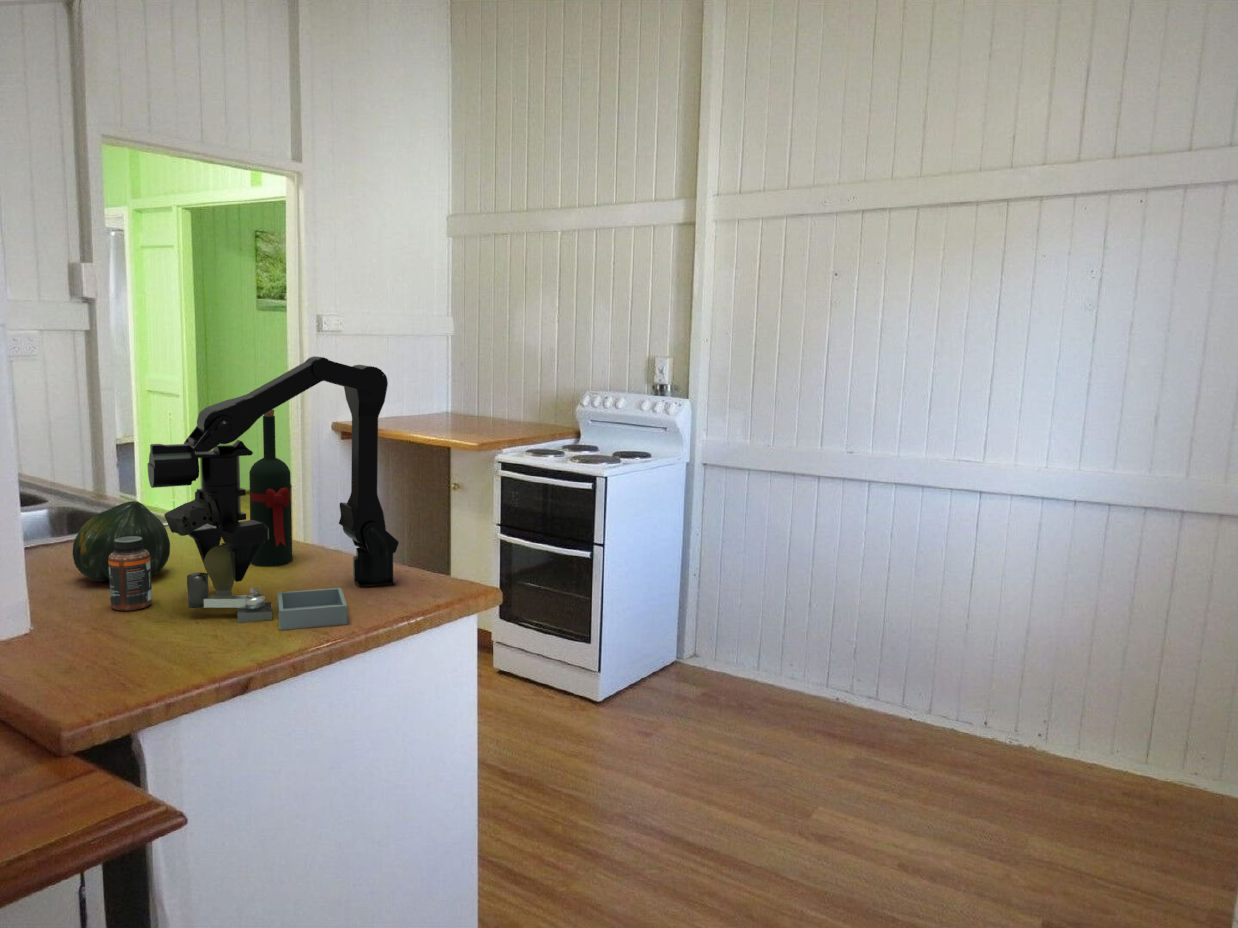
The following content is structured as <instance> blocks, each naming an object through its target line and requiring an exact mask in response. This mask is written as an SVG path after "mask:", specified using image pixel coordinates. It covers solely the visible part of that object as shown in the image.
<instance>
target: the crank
mask: <svg viewBox="0 0 1238 928" xmlns="http://www.w3.org/2000/svg"><path fill="white" fill-rule="evenodd" d="M186 583H187V585H186V586H187V587H186V588H187V607H188V608H189V609H203V608H204V609H205V608H218V609H219V608H224V609H225V608H230V609H231V608H237V609H238V607H246V608H260V607H263V606H264V605H265V602H266V600H265V598H266V597H265V595H264V594H259V593H258V594H253V595H251V594H237V595H236V594H232V595H216V594H212V595H211V594H209V575H208V574H207V572H193V573H189V574H187V575H186Z"/></svg>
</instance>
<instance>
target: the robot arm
mask: <svg viewBox="0 0 1238 928" xmlns="http://www.w3.org/2000/svg"><path fill="white" fill-rule="evenodd" d="M321 382H327V383H329V384H334V385H337V386H341V387H343V388H344V389H343V390H344V394H345V396H344V397H345V400H346V403H347V407H348V408H349V409H348V410H349V411H350V415H351V475H350V476H351V479H350V480H351V492H350V495H349V498H348V500H347V502H340V503H339V511H340V518H339V522H338V525H340V526H342V530H343V532H344V534H345V535H346V536H348V538H349V539H351V540H352V542H353V545H354V546H355V547H356V551H355V552H356V553H355V555H354V556H353V557H352V578H353V580H354V582H355V583H356V584H357V586H358V587H359V588H364V587H365V588H366V587H379V586H380V587H381V586H392V585H395V584H396V581H395V579H394V554H395V553H396V552H397V549H398V546H399V541H398V540H397V539H396V538H395V537H394V536H393V535H392V534H391V533H390V532H388V531H387V528H386V521H385V515H384V513H385V512H384V510H383V507H382V504H381V502H380V499H379V495H378V475H379V474H378V473H379V472H378V465H379V464H378V461H379V460H378V459H379V455H378V454H379V453H378V452H379V451H378V450H379V416H380V414H381V411H382V409H383V406H384V404H385V403H386V402H385V401H386V397H387V390H388V387H389V386H388V384H389V383H388V377H387V375H386V374H385V373H384V372H383V371H382V369H381V368H379V367H376V366H371V365H364V364H355V365H352V366H351V365H348V364H344V363H341V362H336V361H333V360H330V359H328V358H327V357H323V356H311V357H308V358H307V359H306V360H305V361H304V362H303V363H300V364H299V365H296V366H295V367H294V368H291V369H290V370H288V371H286V372H284V373H283V374H281V375H279V376H277V377H275V378H274V379H272V380H270V381H268V382H266V383H264V384H263V385H261V386H259V387H257V388H256V389H254V390H252V391H250V392H248V393H247V394H244V395H241V396H237V397H234V398H233V397H232V398H231V399H230V398H229V399H226V400H222V401H220V402H217V403H214V404H212V405H208V406H206V407H205V408H203V409H202V410H200V412H199V413H198V415H197V419H196V426H195V427H194V428H193V431H191V433H190V434H189V436H188V437H187V438H186V439H185V441H184V442H183V443H180V444H179V443H178V444H162V443H151V444H150V445H149V447H150V449H149V450H150V452H149V456H148V462H147V475H148V482H149V486H150V487H151V488H153V489H155V488H168V487H169V488H170V487H184V486H192V484H193V482H195V481H197V479H199V477H200V476H201V488H197V489H196V491H195V492H194V499H193V500H191V501H188V502H185V503H183V504H180V505H179V506H177V507H175V508H173V509H171V510H169V511H167V512H165V513H164V514H163V515H164V518H165V520H166V523H167V525H168V527H169V529H170V531H171V533H172V534H178V535H179V536H181V537H185V536H188V537H190V538H192V539H193V540H194V542H195V545H196V548H197V550H198V553H199V555H200V558H201V560H202V564H203V565H204V559H205V556H206V554H207V553H208V552H209V550H210V549H212V548H213V547H215V546H218V545H223V546H224V547H225V548H226V549H227V550H229V552H230V556H231V563H232V570H233V575H234V582H235V583H237V582H243V580H244V577H245V575H246V574H247V572H248V569H249V567H250V565H251V561H252V559H253V557H254V556H255V554H256V552H257V550H258V549H259V547H260V545H261V544H264V542H265V540H268V539H269V527H268V526H266V525H265V524H264V523H262V522H258V521H255V520H250V519H249V520H247V513H245V512H241V511H242V508H241V506H242V505H241V497H242V496H246V494H247V493H246V492H247V490H246V488H243V487H242V488H241V473H240V471H241V469H240V457H241V456H243V457H245V456H252V455H253V454H254V452H253V451H252V450H251V449H249V448H248V447H247V446H246V445H245V444H244V442H243V441H242V440H240V439H238V438H240V437H242V435H244V434H245V433H246V432H247V431H249V429H251V428H252V427H253V425H254V424H255V423H256V422H258V420H259V419H260V418H262V417H263V416H264V414H265V413H267V412H269V411H271V410H272V409H273V410H275V409H276V408H278V407H279V406H281V405H282V404H285V403H287V402H288V401H291V399H294V398H295V397H298V395H301V394H302V393H304V392H306V391H308V390H309V389H311V388H313V387H314V386H316V385H317V384H319V383H321ZM233 442H234V443H233ZM230 443H233V444H230ZM199 459H200V462H199ZM200 470H201V471H200ZM200 473H201V475H200ZM221 541H223V543H221Z"/></svg>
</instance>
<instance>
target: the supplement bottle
mask: <svg viewBox="0 0 1238 928" xmlns="http://www.w3.org/2000/svg"><path fill="white" fill-rule="evenodd" d="M114 543H115V545H114V547H115V550H114V551H113V552H112V553H111V554H110V555H109V559H108V562H109V580H108V581H109V596H110V598H109V600H110V608H112V609H114V610H116V611H126V612H127V611H128V612H129V611H135V610H142V609H143V608H148V607H149V606H150V605H151V604H152V601H153V593H152V592H153V591H152V589H153V588H152V587H153V586H152V576H151V565H150V554H149V552H148V551H147V550H145V549H144V548H143V539H142V537H137V536H129V537H121V538H117V539H115V540H114Z"/></svg>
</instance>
